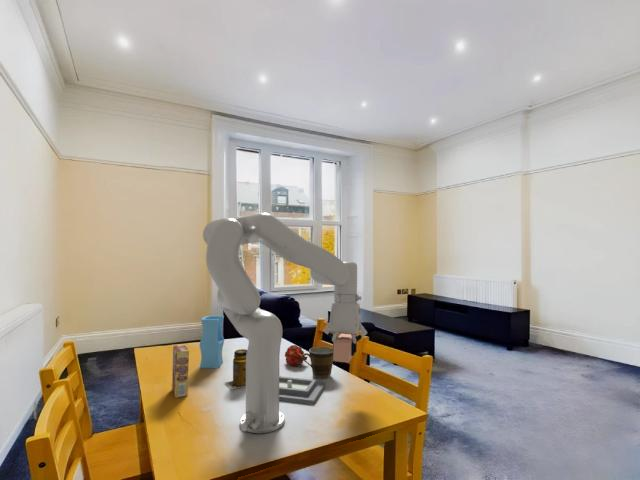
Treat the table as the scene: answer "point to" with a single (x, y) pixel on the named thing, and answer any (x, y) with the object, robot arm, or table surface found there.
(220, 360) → the vase
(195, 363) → the table surface
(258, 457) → the table surface
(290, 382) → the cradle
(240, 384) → the condiment
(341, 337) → the pink block with hole
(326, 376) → the ceramic cup
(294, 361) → the dragon fruit
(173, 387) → the candy box
